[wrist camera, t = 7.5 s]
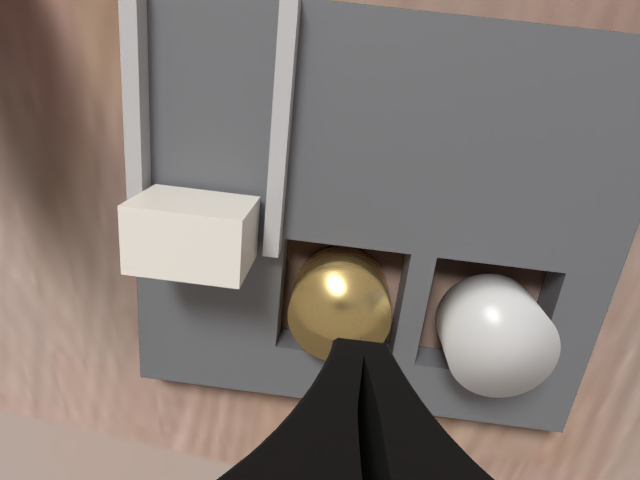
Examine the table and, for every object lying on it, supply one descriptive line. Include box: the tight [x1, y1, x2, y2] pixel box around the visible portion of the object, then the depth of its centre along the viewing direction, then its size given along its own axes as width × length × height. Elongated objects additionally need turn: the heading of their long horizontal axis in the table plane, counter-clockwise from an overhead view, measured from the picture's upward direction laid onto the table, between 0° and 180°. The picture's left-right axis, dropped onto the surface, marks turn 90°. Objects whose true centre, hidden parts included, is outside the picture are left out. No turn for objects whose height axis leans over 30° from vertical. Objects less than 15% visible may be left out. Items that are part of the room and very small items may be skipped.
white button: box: [435, 274, 561, 398], centre depth 18 cm, size 4×4×2 cm
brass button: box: [288, 247, 392, 360], centre depth 19 cm, size 4×4×2 cm
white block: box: [118, 184, 260, 289], centre depth 16 cm, size 4×2×3 cm, turn 84°
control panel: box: [118, 0, 640, 433], centre depth 18 cm, size 19×16×2 cm
